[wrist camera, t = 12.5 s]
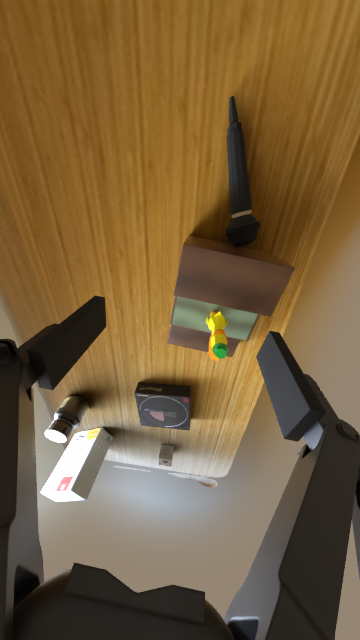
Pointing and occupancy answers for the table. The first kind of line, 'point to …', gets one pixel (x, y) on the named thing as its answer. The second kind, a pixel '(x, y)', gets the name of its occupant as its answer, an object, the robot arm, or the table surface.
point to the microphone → (239, 185)
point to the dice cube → (166, 455)
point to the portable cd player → (163, 405)
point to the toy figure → (217, 335)
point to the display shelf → (223, 291)
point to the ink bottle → (67, 418)
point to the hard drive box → (78, 466)
